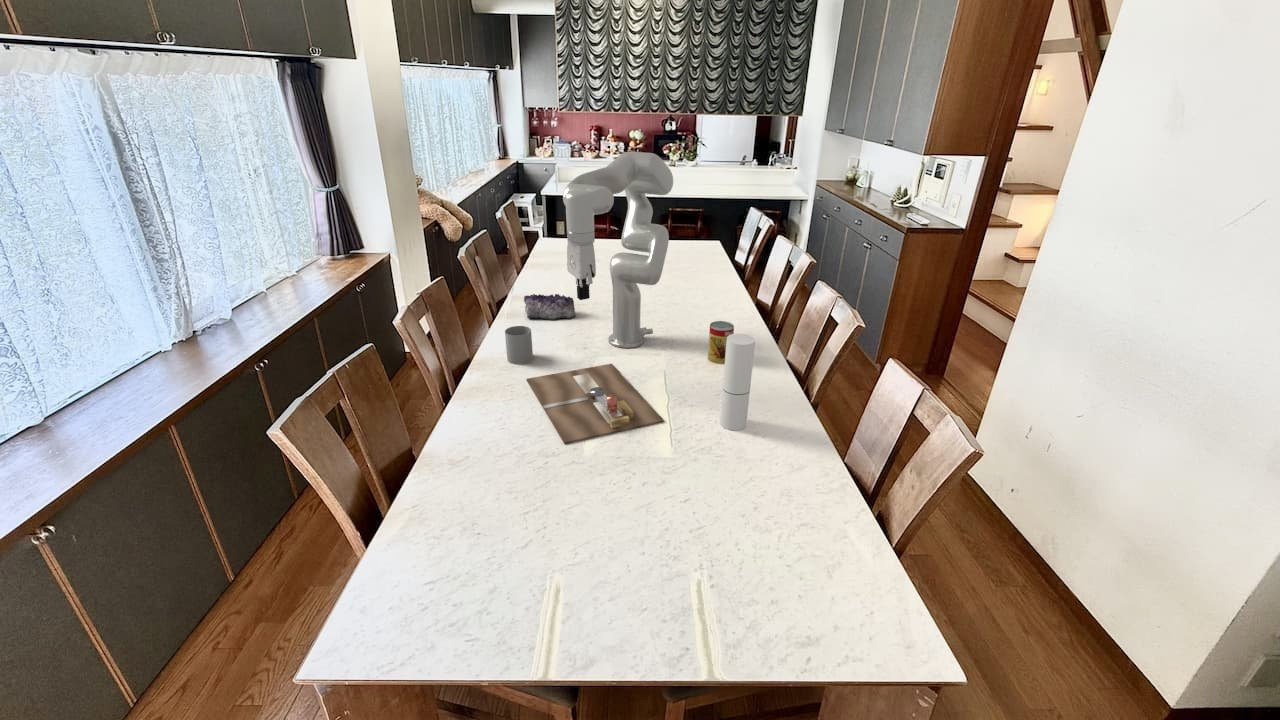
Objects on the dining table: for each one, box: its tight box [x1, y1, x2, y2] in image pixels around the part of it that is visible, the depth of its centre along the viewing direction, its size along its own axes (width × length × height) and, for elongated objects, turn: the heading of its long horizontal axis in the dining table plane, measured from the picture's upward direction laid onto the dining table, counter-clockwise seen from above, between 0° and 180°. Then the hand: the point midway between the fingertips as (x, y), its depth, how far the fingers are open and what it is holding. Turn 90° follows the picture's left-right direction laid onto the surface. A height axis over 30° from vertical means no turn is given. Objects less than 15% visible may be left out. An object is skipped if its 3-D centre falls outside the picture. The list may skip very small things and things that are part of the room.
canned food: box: [707, 320, 735, 365], centre depth 197 cm, size 8×8×12 cm
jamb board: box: [526, 363, 664, 445], centre depth 172 cm, size 28×38×3 cm
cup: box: [504, 325, 534, 365], centre depth 195 cm, size 8×8×10 cm
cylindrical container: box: [719, 333, 756, 431], centre depth 157 cm, size 7×7×25 cm
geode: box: [523, 293, 576, 321], centre depth 231 cm, size 20×12×10 cm, turn 90°
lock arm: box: [590, 387, 623, 419], centre depth 167 cm, size 17×4×5 cm, turn 25°
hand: (583, 298), depth 175 cm, fingers closed
